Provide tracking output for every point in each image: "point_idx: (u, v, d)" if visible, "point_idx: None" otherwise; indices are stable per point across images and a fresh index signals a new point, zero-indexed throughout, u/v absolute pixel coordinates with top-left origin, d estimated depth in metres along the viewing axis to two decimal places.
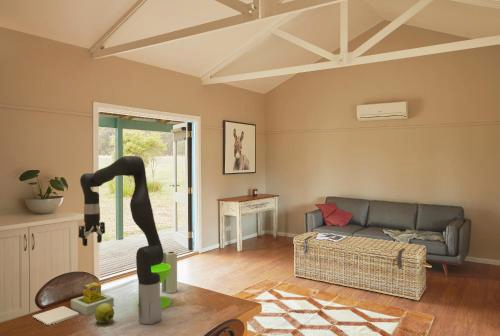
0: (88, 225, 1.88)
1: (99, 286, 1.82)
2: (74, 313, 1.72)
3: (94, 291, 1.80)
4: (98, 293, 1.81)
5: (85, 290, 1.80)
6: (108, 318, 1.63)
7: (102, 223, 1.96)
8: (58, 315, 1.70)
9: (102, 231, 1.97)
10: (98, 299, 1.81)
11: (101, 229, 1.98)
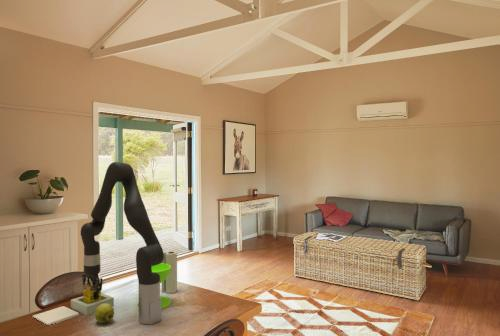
0: None
1: (99, 286, 1.82)
2: (74, 313, 1.72)
3: None
4: None
5: (85, 290, 1.80)
6: (108, 318, 1.63)
7: None
8: (58, 315, 1.70)
9: None
10: (98, 299, 1.81)
11: None
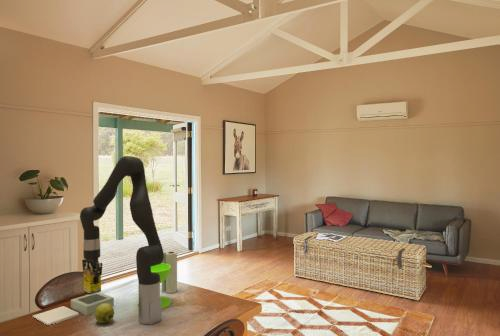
0: None
1: (99, 271, 1.81)
2: (74, 313, 1.72)
3: None
4: None
5: (85, 275, 1.80)
6: (108, 318, 1.63)
7: None
8: (58, 315, 1.70)
9: None
10: (98, 284, 1.81)
11: None
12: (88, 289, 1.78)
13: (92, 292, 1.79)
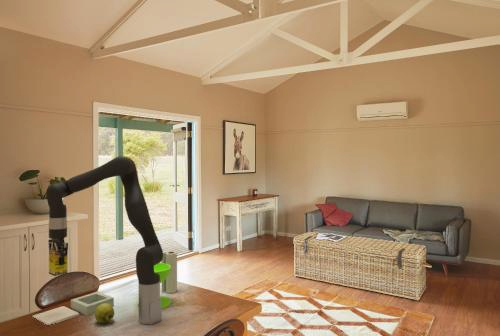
0: None
1: None
2: (74, 313, 1.72)
3: None
4: None
5: (50, 255, 1.70)
6: (108, 318, 1.63)
7: None
8: (58, 315, 1.70)
9: None
10: (64, 265, 1.71)
11: (50, 248, 1.74)
12: (53, 270, 1.68)
13: (57, 273, 1.69)
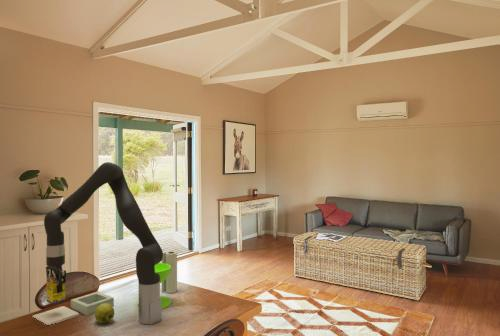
0: None
1: None
2: (74, 313, 1.72)
3: None
4: (62, 285, 1.70)
5: (48, 283, 1.69)
6: (108, 318, 1.63)
7: None
8: (58, 315, 1.70)
9: None
10: (62, 292, 1.70)
11: None
12: (51, 298, 1.68)
13: (55, 301, 1.68)
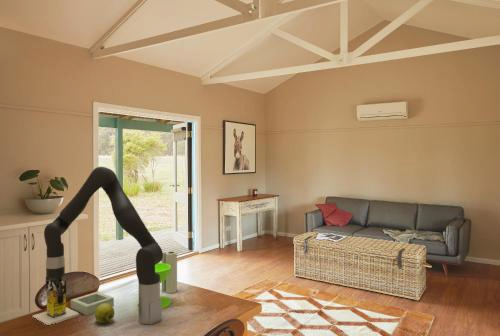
0: None
1: None
2: (74, 313, 1.72)
3: None
4: (63, 299, 1.70)
5: (48, 296, 1.69)
6: (108, 318, 1.63)
7: None
8: None
9: None
10: (62, 306, 1.70)
11: None
12: (51, 312, 1.67)
13: (56, 315, 1.68)
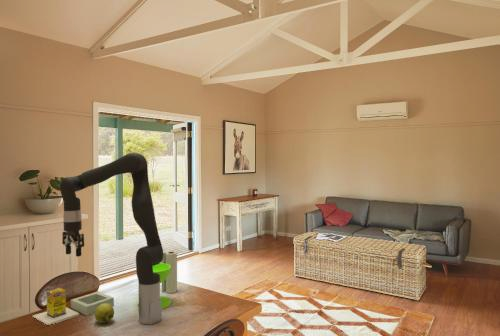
0: None
1: (64, 292, 1.71)
2: (74, 313, 1.72)
3: (58, 297, 1.68)
4: (63, 299, 1.70)
5: (48, 296, 1.69)
6: (108, 318, 1.63)
7: None
8: None
9: None
10: (62, 306, 1.70)
11: None
12: (51, 312, 1.67)
13: (56, 315, 1.68)
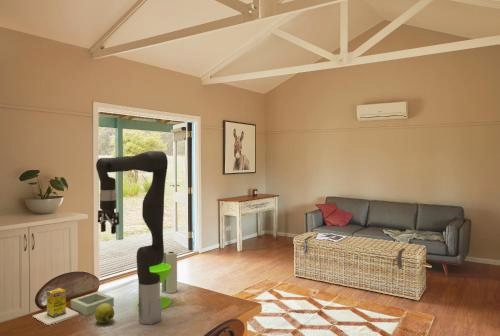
0: None
1: (64, 292, 1.71)
2: (74, 313, 1.72)
3: (58, 297, 1.68)
4: (63, 299, 1.70)
5: (48, 296, 1.69)
6: (108, 318, 1.63)
7: None
8: None
9: None
10: (62, 306, 1.70)
11: None
12: (51, 312, 1.67)
13: (56, 315, 1.68)
